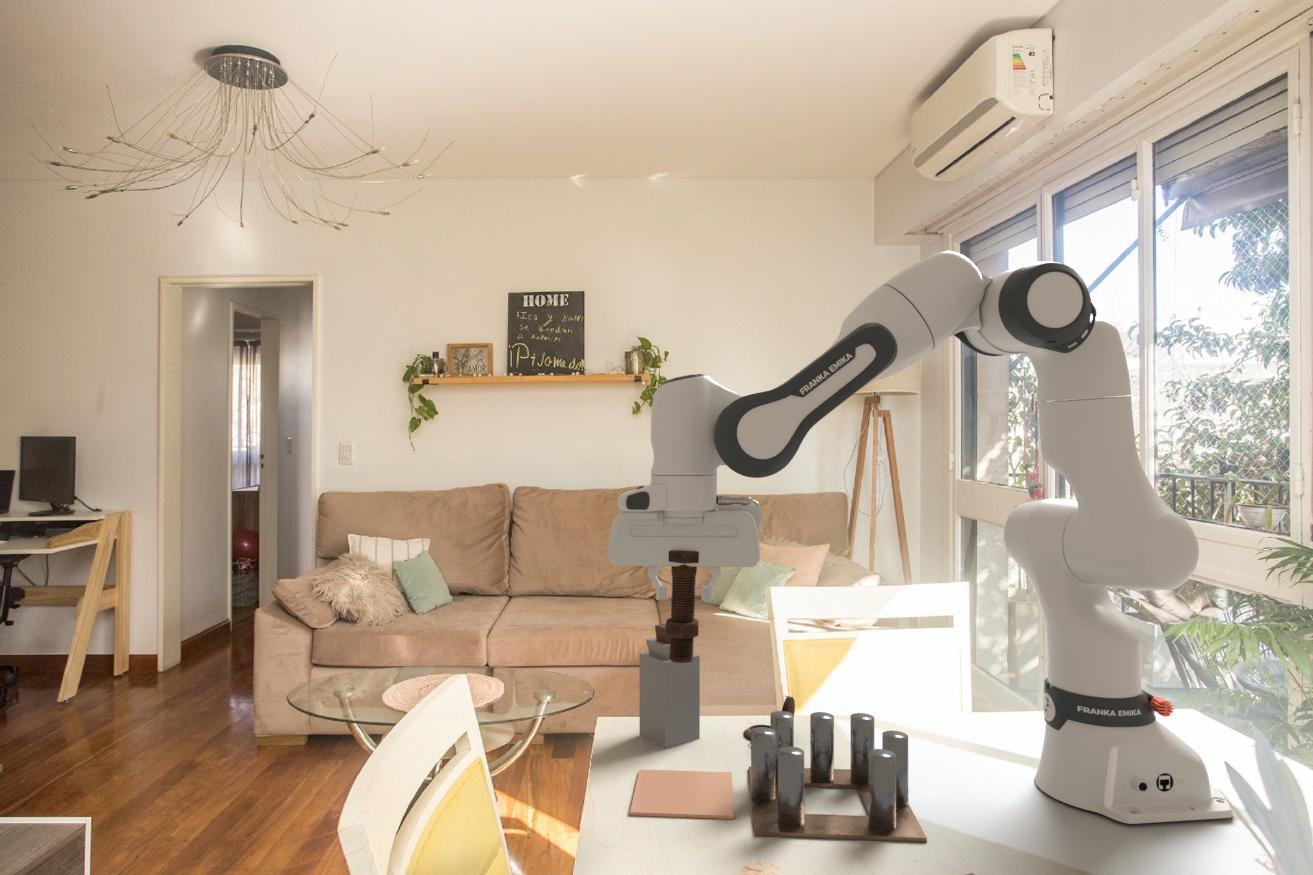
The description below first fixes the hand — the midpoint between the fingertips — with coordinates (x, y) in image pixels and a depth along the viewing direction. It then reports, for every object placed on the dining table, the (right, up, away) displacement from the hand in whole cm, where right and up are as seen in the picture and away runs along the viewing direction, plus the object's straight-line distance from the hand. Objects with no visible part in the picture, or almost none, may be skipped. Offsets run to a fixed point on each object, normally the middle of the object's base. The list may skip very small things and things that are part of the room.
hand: (684, 599), depth 105 cm
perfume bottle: (-2, -26, +19) cm, 32 cm away
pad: (0, -26, 0) cm, 26 cm away
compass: (+13, -26, +18) cm, 35 cm away
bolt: (0, -8, 0) cm, 8 cm away
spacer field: (+19, -26, -3) cm, 32 cm away
